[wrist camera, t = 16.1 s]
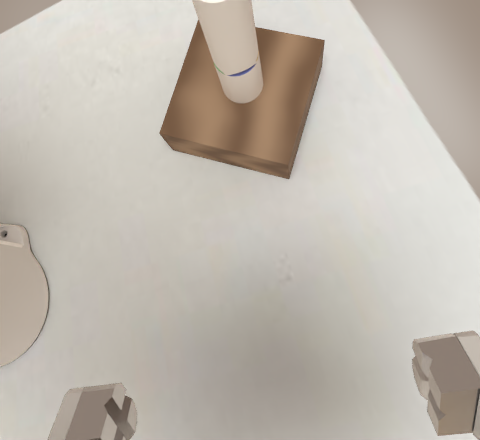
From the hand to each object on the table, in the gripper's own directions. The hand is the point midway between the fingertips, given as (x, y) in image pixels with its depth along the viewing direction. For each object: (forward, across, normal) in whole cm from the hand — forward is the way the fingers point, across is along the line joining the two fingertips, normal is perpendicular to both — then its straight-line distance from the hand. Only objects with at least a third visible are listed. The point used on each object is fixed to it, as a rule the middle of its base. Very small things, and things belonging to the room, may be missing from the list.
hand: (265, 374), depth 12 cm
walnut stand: (+40, +1, +6) cm, 41 cm away
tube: (+37, +1, +2) cm, 37 cm away
